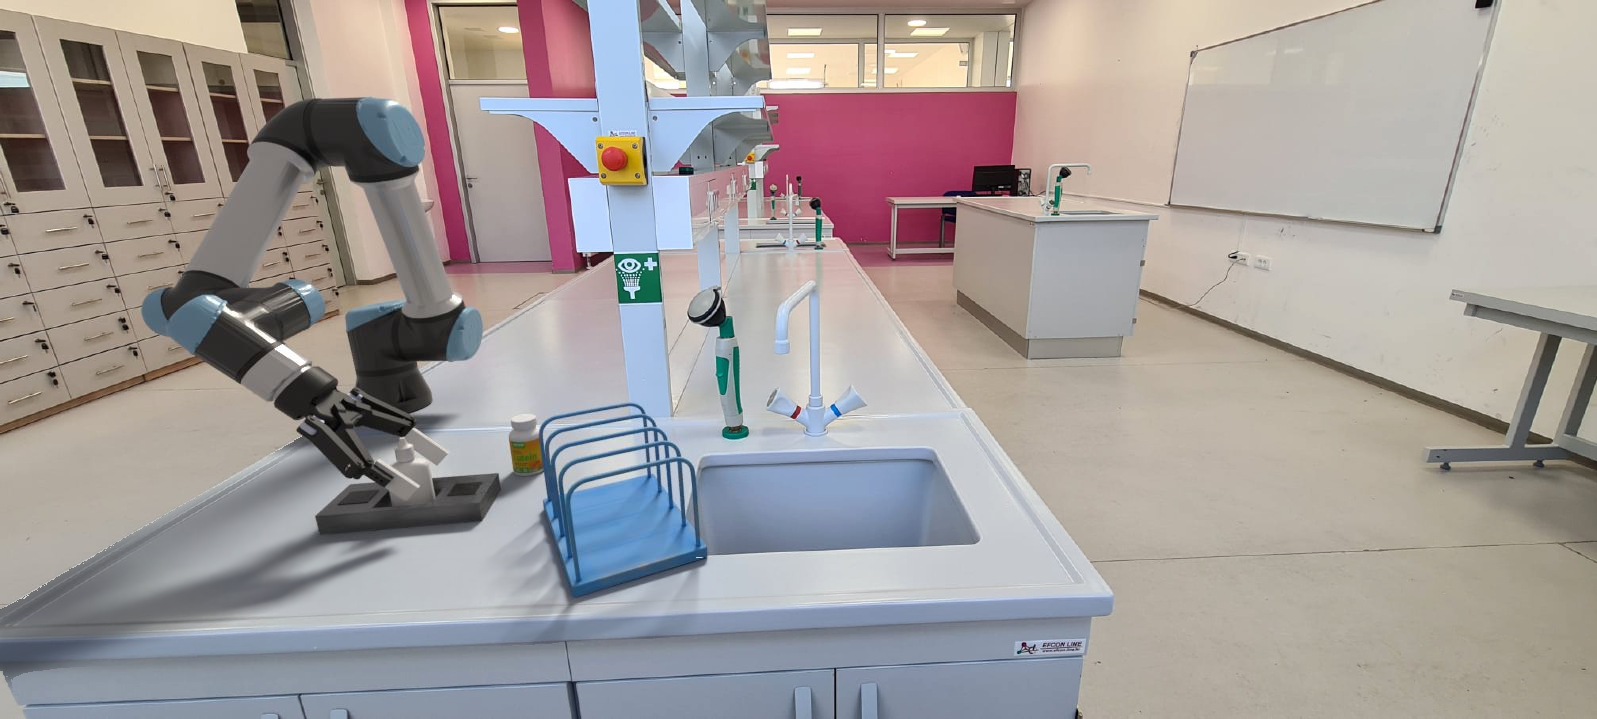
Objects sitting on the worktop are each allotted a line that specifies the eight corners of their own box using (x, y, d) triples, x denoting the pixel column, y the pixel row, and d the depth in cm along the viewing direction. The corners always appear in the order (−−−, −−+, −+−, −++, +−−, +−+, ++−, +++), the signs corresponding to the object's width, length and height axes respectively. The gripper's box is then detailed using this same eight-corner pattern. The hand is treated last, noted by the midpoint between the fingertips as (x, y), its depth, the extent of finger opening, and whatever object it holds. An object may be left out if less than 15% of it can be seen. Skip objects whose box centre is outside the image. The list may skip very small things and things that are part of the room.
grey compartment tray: (354, 501, 102) (350, 483, 101) (501, 489, 106) (498, 472, 105) (319, 534, 93) (314, 515, 92) (482, 520, 96) (479, 502, 95)
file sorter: (543, 509, 99) (531, 416, 95) (654, 484, 107) (647, 396, 103) (573, 599, 78) (559, 484, 74) (708, 559, 86) (703, 453, 82)
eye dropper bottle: (408, 503, 102) (394, 431, 98) (442, 504, 101) (429, 433, 98) (388, 517, 97) (373, 443, 94) (423, 518, 97) (409, 444, 94)
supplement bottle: (511, 478, 109) (503, 425, 107) (515, 465, 114) (508, 414, 112) (545, 474, 111) (538, 421, 108) (548, 461, 116) (541, 410, 113)
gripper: (322, 378, 103) (441, 460, 110) (219, 434, 81) (377, 533, 87) (351, 344, 102) (470, 428, 109) (256, 391, 80) (413, 494, 86)
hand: (429, 475), depth 98 cm, fingers open, 11 cm apart
